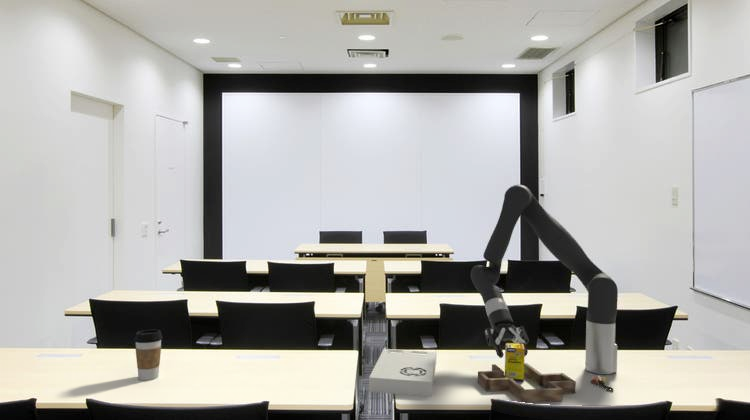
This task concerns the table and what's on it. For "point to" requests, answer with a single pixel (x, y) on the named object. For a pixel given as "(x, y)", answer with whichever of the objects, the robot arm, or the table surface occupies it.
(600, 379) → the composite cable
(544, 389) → the trap lane
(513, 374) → the supplement box
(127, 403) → the table surface
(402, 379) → the white flat box
